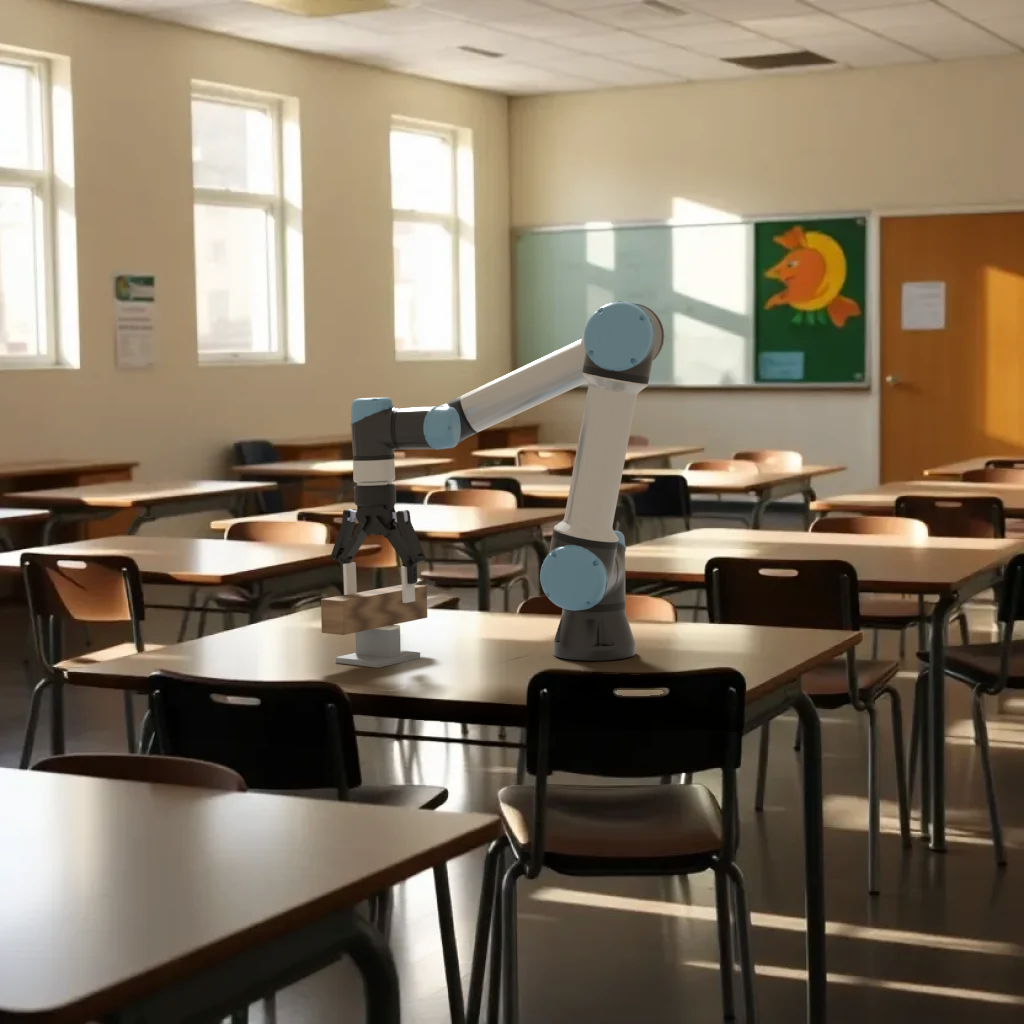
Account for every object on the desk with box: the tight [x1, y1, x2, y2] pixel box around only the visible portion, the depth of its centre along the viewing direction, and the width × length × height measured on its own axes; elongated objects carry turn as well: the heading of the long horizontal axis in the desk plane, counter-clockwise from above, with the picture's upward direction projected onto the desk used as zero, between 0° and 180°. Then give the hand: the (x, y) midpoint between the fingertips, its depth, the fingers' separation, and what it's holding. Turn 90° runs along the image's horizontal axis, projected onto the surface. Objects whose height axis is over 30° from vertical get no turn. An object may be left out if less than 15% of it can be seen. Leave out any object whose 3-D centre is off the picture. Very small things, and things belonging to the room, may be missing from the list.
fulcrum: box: [335, 624, 421, 669], centre depth 314 cm, size 10×12×6 cm
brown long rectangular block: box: [320, 584, 428, 636], centre depth 314 cm, size 24×5×6 cm, turn 145°
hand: (379, 600), depth 314 cm, fingers open, 13 cm apart
